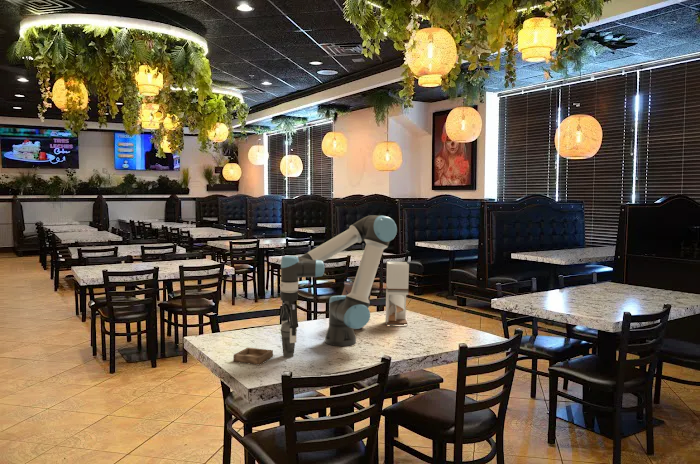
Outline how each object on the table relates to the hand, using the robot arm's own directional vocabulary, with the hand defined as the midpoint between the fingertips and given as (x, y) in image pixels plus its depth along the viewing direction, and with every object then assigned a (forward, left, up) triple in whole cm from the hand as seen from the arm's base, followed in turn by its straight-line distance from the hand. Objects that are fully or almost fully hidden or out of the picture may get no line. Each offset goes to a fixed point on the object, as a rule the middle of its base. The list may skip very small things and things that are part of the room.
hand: (288, 338), depth 240 cm
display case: (-31, -80, -8) cm, 86 cm away
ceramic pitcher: (-12, -62, -8) cm, 64 cm away
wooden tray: (+12, +10, -8) cm, 17 cm away
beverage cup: (0, 0, -8) cm, 8 cm away
